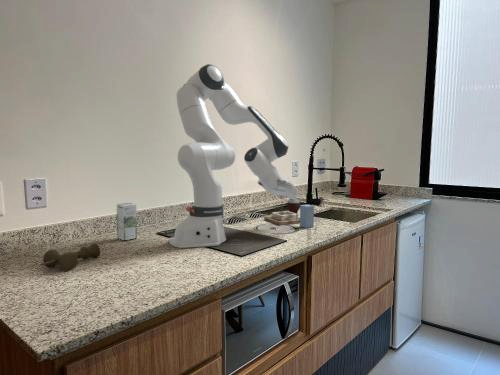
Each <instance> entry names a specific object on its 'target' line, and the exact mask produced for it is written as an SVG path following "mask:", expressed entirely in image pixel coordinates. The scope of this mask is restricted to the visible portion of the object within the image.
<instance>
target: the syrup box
mask: <svg viewBox="0 0 500 375" xmlns="http://www.w3.org/2000/svg"><path fill="white" fill-rule="evenodd" d="M116 224H117V226H116V227H117V230H116V231H117V239H118V238H119V239H118V240H120V239H121V240H120V241H122V240H128V241H131V240H130V239H133V240H136V239H135V238H137V239H138V232H137V230H138V228H137V204H135V203H133V202H124V203H117V204H116Z"/></svg>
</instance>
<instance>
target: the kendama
mask: <svg viewBox="0 0 500 375" xmlns="http://www.w3.org/2000/svg"><path fill="white" fill-rule="evenodd" d="M100 256H101V248H100V246H99V245H98V244H97V243H91V244H90V245H89V246H88V247H86V246H83V247H81V248H80V249H79V250H78V251H75V252H73V251H67V252H65V253H63V254H60V253H59V251H58V250H57V249H50V250H47V251H46V252H45V253H44V254H43V257H42V263H40V264H39V265H40V266H41V267H43V266H45V267H47V268H51V267H52V268H53V267H55V266H59V268H60V269H61V271H63V272H69V271H72V270H74V269H75V268H76V267H77V265H78V260H79V259H82V260H84V261H85V260H86V261H87V260H90V258H94V259H97V258H99V257H100Z"/></svg>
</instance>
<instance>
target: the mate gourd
mask: <svg viewBox="0 0 500 375" xmlns="http://www.w3.org/2000/svg"><path fill="white" fill-rule="evenodd" d="M300 202H301V201H300V200H299V199H298V201H297V202H294V201H293V200H292V198H291V197H289V199H288V200H287V203H286V207H287V211H289V212H292V213H296V214H297V213H299V212H298V211H299V210H300V205H301V203H300Z"/></svg>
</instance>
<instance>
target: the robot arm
mask: <svg viewBox="0 0 500 375" xmlns="http://www.w3.org/2000/svg"><path fill="white" fill-rule="evenodd" d="M207 99H208V100H209V101H211V102H212V104H213V107H214V108H215V109H216V111H217V113H218V114H219V116H220V118H221V119H222V120H223V121H224V122H225V124H228V125H231V126H232V125H233V126H234V125H235V126H236V125H242V124H246V123H253V124H255V125H256V126H258V128H259V129H260V130H261V132H262V133H264V135H265V136H266V137H267V139H266V140H264V141H262V142H261V143H259V144H258V145H256V146H254V147H251V148H250V149H249V150H247V151H246V152H245V154H244V156H243V158H244V162H245V164H246V166H247V167H248V168H249V169H250V171H251V172H252V173H253V175H254V176H256V177H257V178H258V181H257V184H258V186H260V187H262V188H263V189H264V191H266V192H267V193H268V194H273V195H275V196H276V197H278V198H279V199H281V200H285V199H286V197H288V198H290V197H291V199H292V200H293V201H294V202H297V201H298V200H299V199H298V197H297V196H298V195H299V192H300V191H299V189H298V188H297V187H296V186H295V185H294V184H293V183H292V182H291V181H289V180H285V179H283V174H281V173H280V171H279V170H278V169H277V167H276V166H274V165H273V164H272V162H274V161H276V160H277V159H280V158H282V157H284V156H286V155H287V153H288V150H289V143H288V142H287V140H286V139H285V138H284V137H283V136H282V135H281V134H280V133H279V132H278V131H277V130H276V129H275V127H273V126H272V125H271V124H270V123H269V122H268V121H267V119H266V118H265V117H264V116H263V115H262V114H261V113H260V112H259V110H257V109H256V108H254V107H253V105H250V106H248V105H246V104H244V103H243V102H242V101H241V99H240V97H239V96H238V94H236V92H235V91H234V89H232V87H231V86H230V85H229V84H228V83H227V82H225V79H224V75H223V73H222V71H221V70H220V69H219V68H218V66H215V65H213V64H211V63H210V64H209V63H208V64H205V65H203V66H202V67H200V68H199V69H198V71H196V72H195V73H193V74H192V75H191V76H190V77H189V78H188V80H187V81H186V82H185V83H184V84H183V86H182V87H180V88H178V90H177V92H176V104H177V109H178V113H179V118H180V120H181V124H182V126H183V130H184V132H185V134H186V135H187V136H188V137H190V139H192V140H194V141H193V142H190V143H186V144H183V145H181V147H180V148H179V149H178V151H177V163H178V165H179V166H180V167H181V169H183V170H184V171H185V172H186V173H187V176H189V178H190V181H191V183H192V184H191V185H192V188H193V206H189V205H187V206H186V207H185V211H186V212H188V213H189V215H188V216H187V217H186V218H184V219H183V220H182V221H180V223H178V224H177V226H176V227H175V231H174V236H173V237H170V238H169V239H168V242H169V244H170V245H171V246H172V247H175V248H179V249H186V248H200V247H214V246H215V247H216V246H220V245H221V244H222V243H224V242H226V240H227V237H226V233H225V227H224V205H223V187H222V185H221V183H220V182H219V181H217V180H216V179H215V178H214V174H213V171H216V170H217V171H220V170H224V169H226V168H229V167H232V165H233V164H234V163H235V159H236V151H235V149H234V148H233V146H232V145H230V144H229V143H227V142H226V141H225V140H224V139H223V137H221V135H220V134H219V133H218V131H217V130H216V128H215V127H214V125H213V122H212V120H211V117H210V113H209V111H208V109H207V105H206V102H205V101H206V100H207Z"/></svg>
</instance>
